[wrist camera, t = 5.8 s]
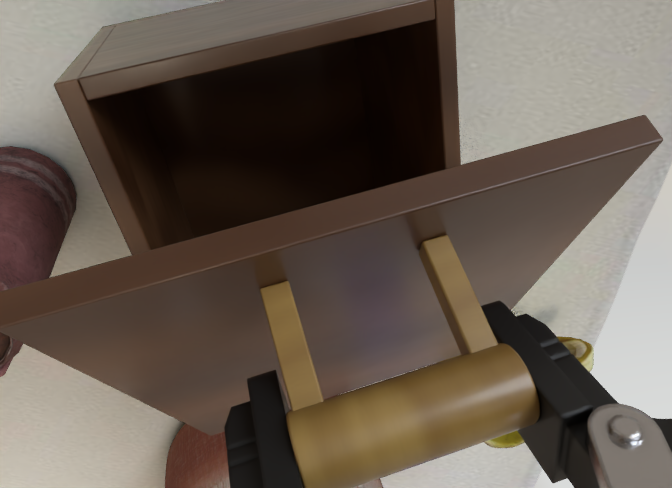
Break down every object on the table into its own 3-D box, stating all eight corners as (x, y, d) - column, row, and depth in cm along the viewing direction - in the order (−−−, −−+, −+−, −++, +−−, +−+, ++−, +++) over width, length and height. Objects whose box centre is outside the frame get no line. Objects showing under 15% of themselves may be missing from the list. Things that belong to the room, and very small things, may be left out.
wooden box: (101, 27, 29) (52, 84, 17) (354, -28, 30) (454, -8, 19) (199, 280, 38) (208, 421, 27) (387, 226, 40) (468, 338, 29)
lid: (-8, 292, 10) (-1, 609, 8) (645, 113, 12) (804, 328, 10) (207, 420, 27) (229, 535, 24) (469, 336, 29) (512, 435, 26)
